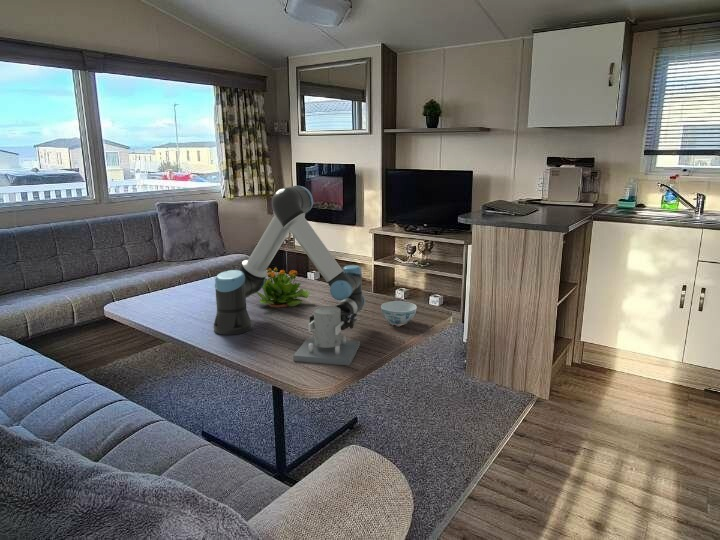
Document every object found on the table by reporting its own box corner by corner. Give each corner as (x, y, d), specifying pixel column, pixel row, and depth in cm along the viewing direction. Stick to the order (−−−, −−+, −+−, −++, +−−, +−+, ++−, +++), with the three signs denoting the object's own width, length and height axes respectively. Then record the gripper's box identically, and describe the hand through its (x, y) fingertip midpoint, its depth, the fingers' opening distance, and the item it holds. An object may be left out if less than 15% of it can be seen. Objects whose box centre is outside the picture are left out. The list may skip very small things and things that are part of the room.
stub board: (293, 360, 172) (292, 347, 171) (308, 342, 189) (308, 329, 188) (349, 365, 168) (349, 351, 167) (359, 346, 185) (359, 333, 184)
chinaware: (373, 323, 210) (373, 306, 208) (396, 315, 220) (397, 299, 218) (400, 332, 199) (400, 314, 198) (423, 323, 210) (424, 306, 208)
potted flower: (275, 316, 219) (273, 278, 215) (240, 306, 233) (238, 270, 229) (313, 303, 238) (312, 268, 235) (279, 295, 252) (277, 261, 248)
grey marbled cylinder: (317, 349, 172) (316, 315, 169) (312, 339, 181) (311, 307, 178) (343, 346, 174) (343, 312, 172) (337, 336, 183) (337, 305, 181)
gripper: (372, 322, 190) (352, 343, 169) (318, 317, 197) (294, 336, 176) (372, 304, 188) (352, 322, 168) (318, 299, 195) (293, 316, 175)
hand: (322, 329), depth 172 cm, fingers closed on grey marbled cylinder, 9 cm apart
